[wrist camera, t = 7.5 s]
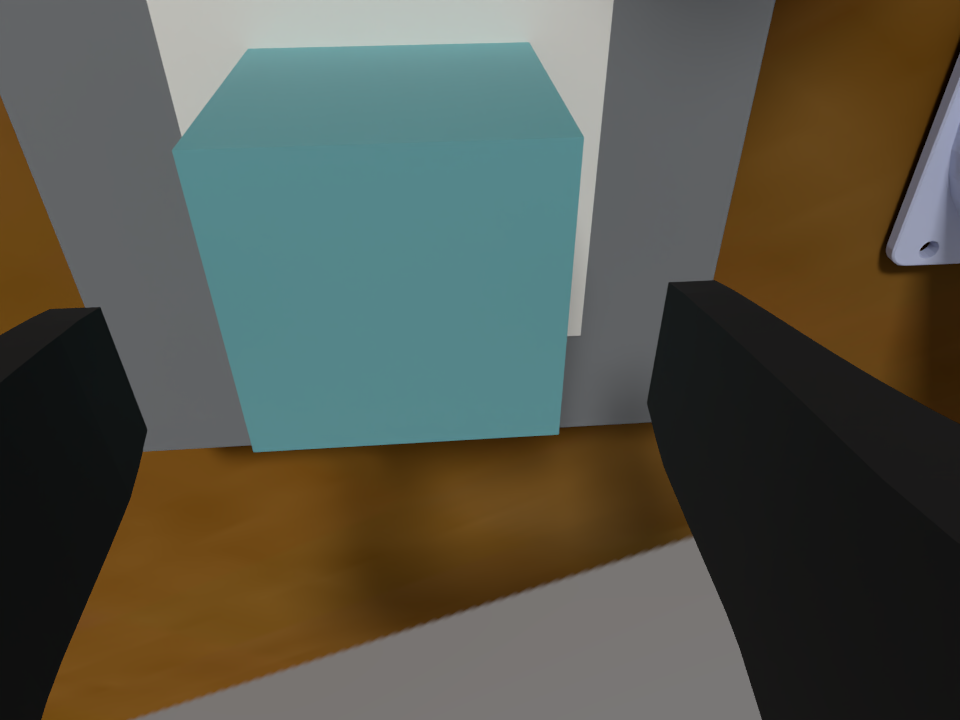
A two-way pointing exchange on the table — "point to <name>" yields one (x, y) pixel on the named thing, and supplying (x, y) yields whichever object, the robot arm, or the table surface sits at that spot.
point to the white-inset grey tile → (377, 22)
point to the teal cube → (388, 241)
